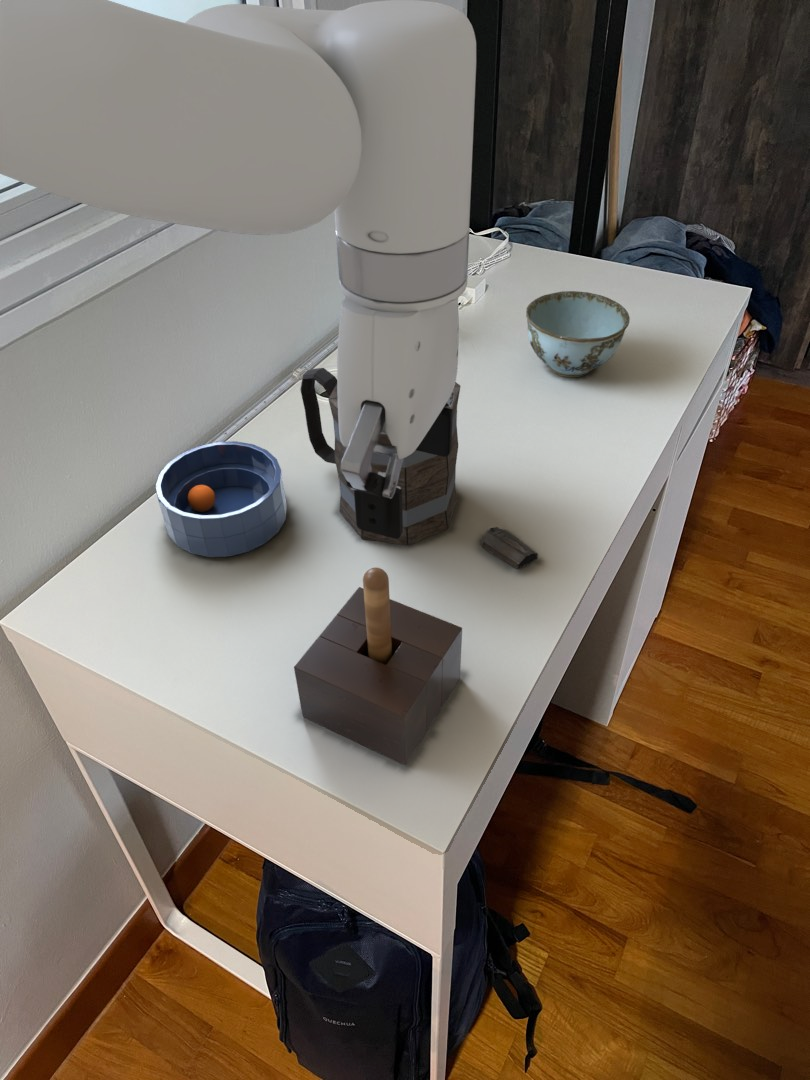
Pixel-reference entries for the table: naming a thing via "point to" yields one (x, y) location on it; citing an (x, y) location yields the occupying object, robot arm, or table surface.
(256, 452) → the mixing bowl
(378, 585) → the stick
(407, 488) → the mug
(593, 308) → the bowl
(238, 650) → the table surface
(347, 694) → the holder
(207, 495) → the ball
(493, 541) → the block
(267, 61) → the robot arm
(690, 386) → the table surface
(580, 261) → the table surface
